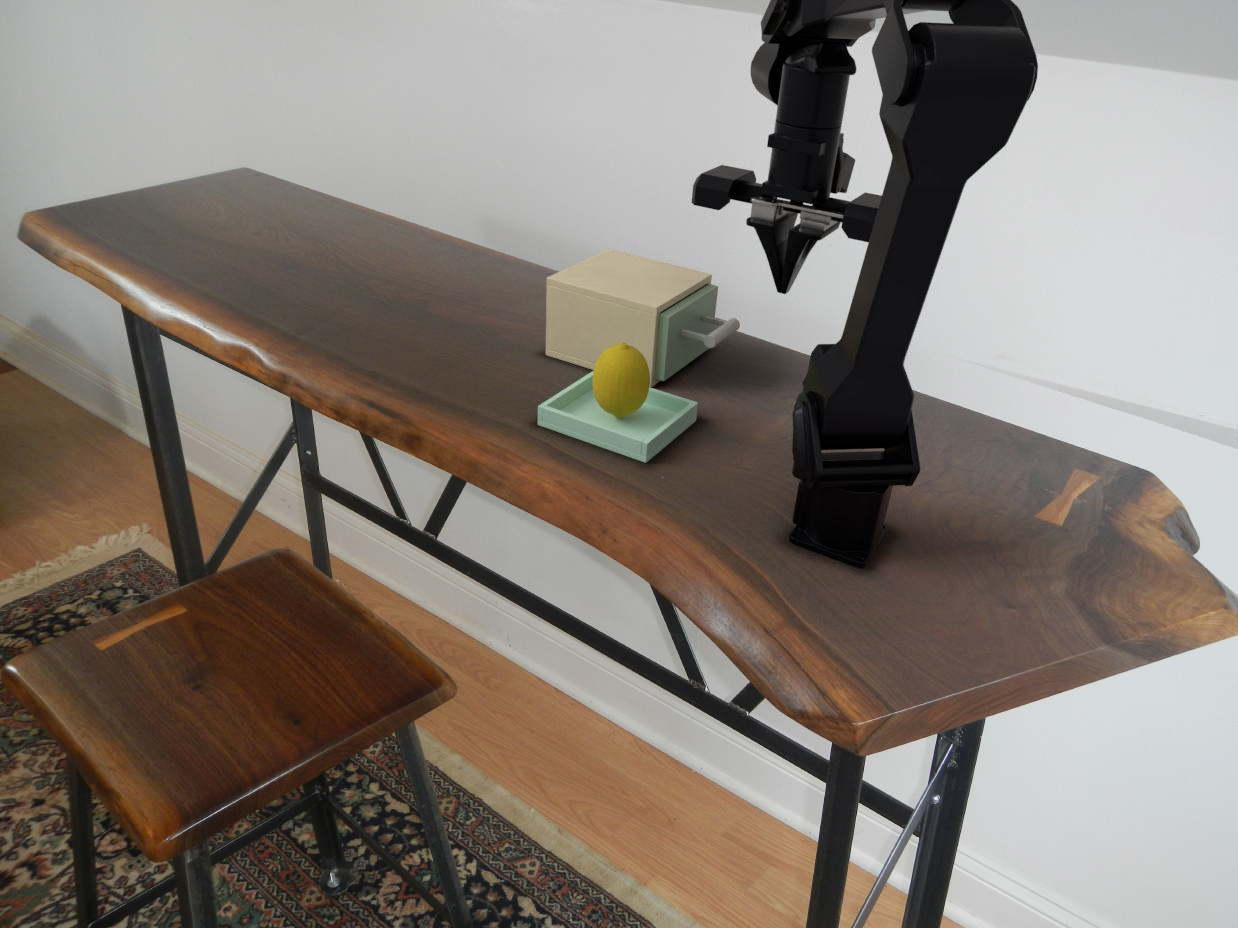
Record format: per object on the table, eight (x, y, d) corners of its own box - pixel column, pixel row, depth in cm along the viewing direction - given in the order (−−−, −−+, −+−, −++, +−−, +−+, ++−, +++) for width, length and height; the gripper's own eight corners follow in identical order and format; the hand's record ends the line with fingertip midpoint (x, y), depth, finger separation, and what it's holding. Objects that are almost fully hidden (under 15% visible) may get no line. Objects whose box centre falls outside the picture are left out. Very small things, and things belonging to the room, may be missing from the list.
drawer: (745, 356, 108) (753, 294, 104) (699, 392, 99) (706, 327, 95) (618, 320, 115) (621, 261, 111) (565, 351, 106) (567, 289, 102)
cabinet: (704, 349, 111) (712, 274, 106) (650, 388, 101) (657, 307, 97) (604, 321, 116) (608, 248, 112) (545, 355, 107) (546, 277, 102)
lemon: (647, 433, 92) (653, 357, 87) (589, 430, 91) (592, 353, 87) (646, 406, 96) (652, 333, 92) (592, 403, 96) (595, 329, 92)
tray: (696, 421, 95) (698, 402, 94) (646, 463, 88) (647, 443, 87) (593, 387, 101) (594, 369, 100) (537, 425, 93) (537, 406, 92)
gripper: (939, 125, 85) (903, 291, 93) (749, 95, 93) (730, 250, 101) (903, 146, 77) (867, 326, 85) (697, 111, 85) (681, 279, 93)
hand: (783, 292), depth 91 cm, fingers closed
